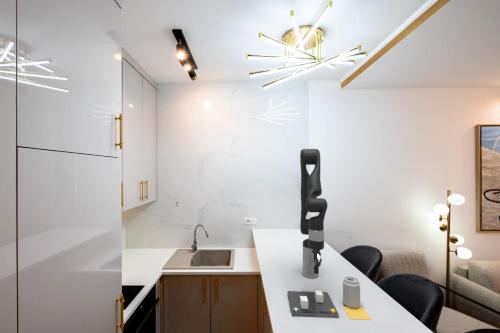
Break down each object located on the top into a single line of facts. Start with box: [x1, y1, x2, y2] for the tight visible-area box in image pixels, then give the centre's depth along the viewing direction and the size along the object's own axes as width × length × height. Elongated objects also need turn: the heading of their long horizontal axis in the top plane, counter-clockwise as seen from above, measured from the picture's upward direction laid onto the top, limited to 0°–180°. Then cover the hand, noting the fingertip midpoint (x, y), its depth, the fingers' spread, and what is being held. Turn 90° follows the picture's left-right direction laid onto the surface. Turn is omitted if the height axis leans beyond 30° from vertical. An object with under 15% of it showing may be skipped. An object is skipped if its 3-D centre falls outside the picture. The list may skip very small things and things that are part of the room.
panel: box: [286, 290, 340, 319], centre depth 111 cm, size 18×20×3 cm
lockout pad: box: [342, 305, 372, 321], centre depth 105 cm, size 9×9×1 cm
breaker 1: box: [300, 296, 308, 309], centre depth 107 cm, size 4×3×4 cm
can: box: [342, 276, 361, 308], centre depth 111 cm, size 8×8×12 cm
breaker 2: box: [314, 290, 323, 303], centre depth 112 cm, size 4×3×4 cm
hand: (316, 273), depth 118 cm, fingers closed
